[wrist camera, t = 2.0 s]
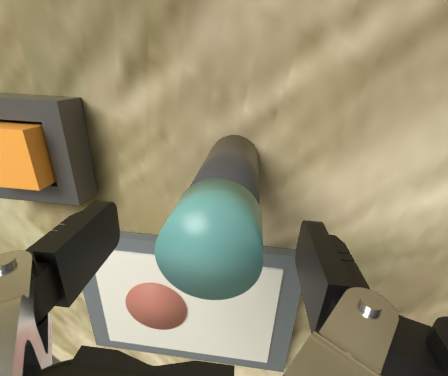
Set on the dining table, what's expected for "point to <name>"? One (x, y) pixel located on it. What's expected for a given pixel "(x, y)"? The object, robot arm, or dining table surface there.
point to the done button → (24, 157)
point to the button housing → (55, 146)
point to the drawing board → (193, 310)
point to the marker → (216, 226)
